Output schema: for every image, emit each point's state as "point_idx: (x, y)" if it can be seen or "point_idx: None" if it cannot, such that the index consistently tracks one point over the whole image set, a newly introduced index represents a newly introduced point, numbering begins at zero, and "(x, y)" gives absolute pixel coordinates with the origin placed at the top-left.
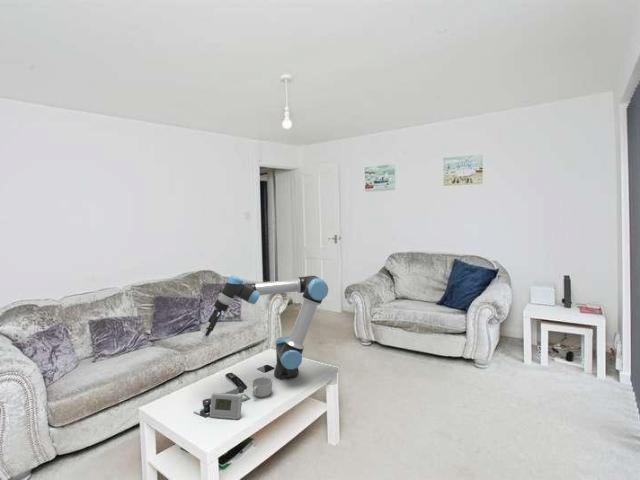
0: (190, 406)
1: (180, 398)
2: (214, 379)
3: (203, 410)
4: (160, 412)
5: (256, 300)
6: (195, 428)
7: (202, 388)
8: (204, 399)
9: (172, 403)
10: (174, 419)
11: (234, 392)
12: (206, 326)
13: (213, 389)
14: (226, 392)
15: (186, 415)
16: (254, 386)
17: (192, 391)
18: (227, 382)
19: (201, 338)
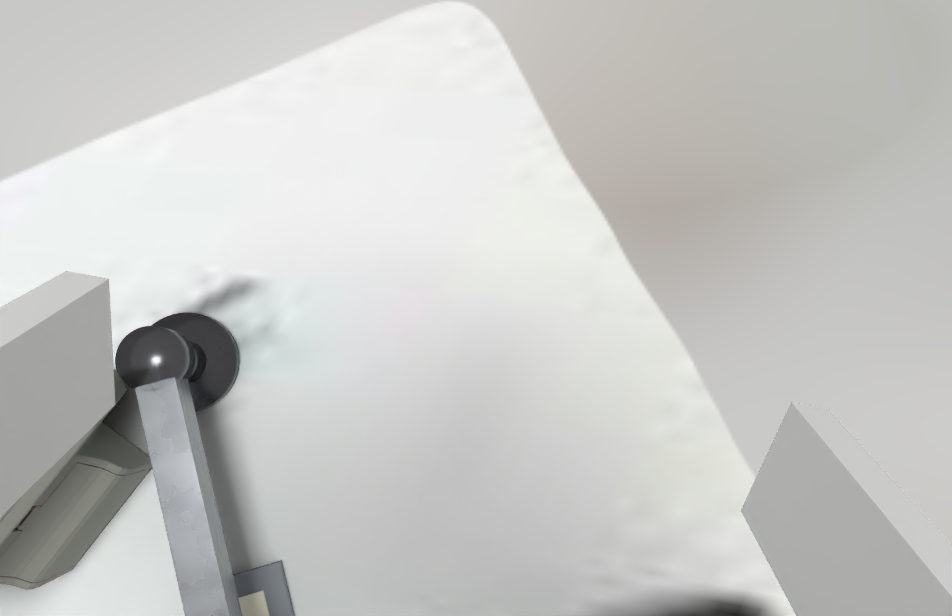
0: (341, 269)
1: (496, 220)
2: (701, 495)
3: (209, 340)
4: (360, 87)
5: None
6: (27, 264)
7: (582, 384)
8: (178, 345)
9: (448, 165)
10: (219, 157)
11: (186, 604)
12: (897, 592)
13: (526, 460)
14: (203, 537)
15: (229, 231)
16: None
17: (567, 309)
18: (598, 587)
19: (77, 291)
